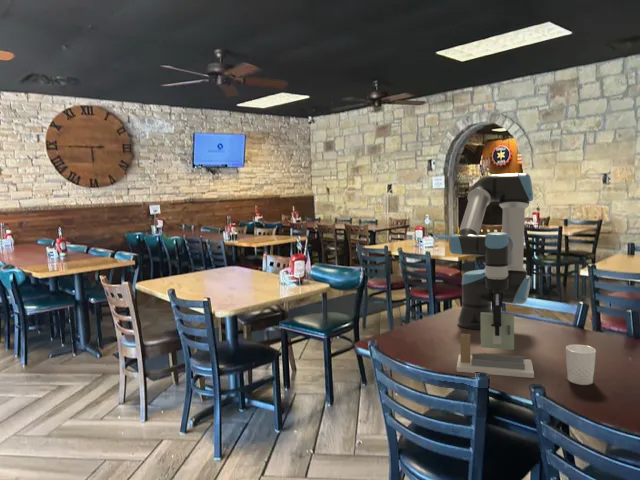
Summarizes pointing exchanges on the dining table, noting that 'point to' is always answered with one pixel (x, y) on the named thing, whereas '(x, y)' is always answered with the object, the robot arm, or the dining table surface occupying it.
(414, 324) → the dining table surface
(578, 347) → the white cup
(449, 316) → the dining table surface
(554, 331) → the dining table surface
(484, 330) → the door panel
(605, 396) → the dining table surface
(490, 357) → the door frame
